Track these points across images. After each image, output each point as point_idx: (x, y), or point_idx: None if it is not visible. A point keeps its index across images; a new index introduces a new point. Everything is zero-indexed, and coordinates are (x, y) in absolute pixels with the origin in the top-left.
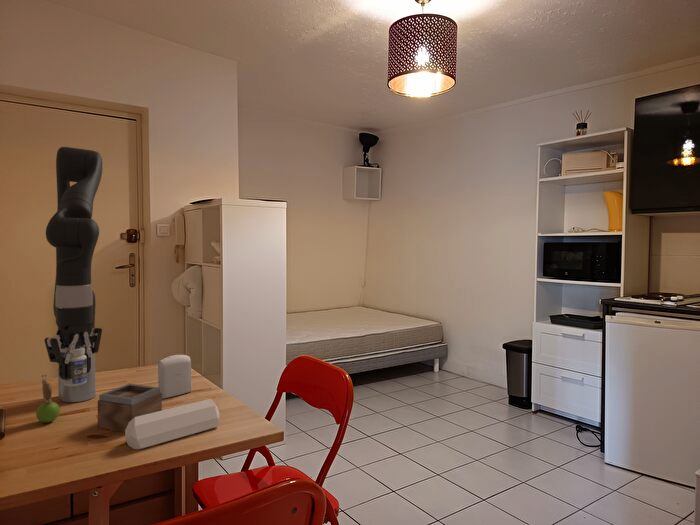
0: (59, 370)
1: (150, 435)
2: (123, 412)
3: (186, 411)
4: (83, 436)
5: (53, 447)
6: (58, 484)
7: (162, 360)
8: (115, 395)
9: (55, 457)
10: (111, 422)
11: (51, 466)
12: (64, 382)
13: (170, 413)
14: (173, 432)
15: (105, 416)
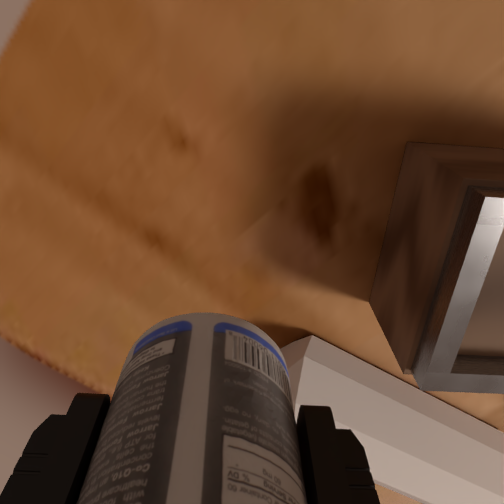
0: (12, 481)
1: None
2: (402, 312)
3: (420, 501)
4: (307, 155)
5: (183, 122)
6: (6, 340)
7: None
8: (478, 288)
9: (121, 202)
10: (399, 226)
11: (68, 242)
12: (125, 363)
13: (382, 484)
14: None
15: (415, 203)
